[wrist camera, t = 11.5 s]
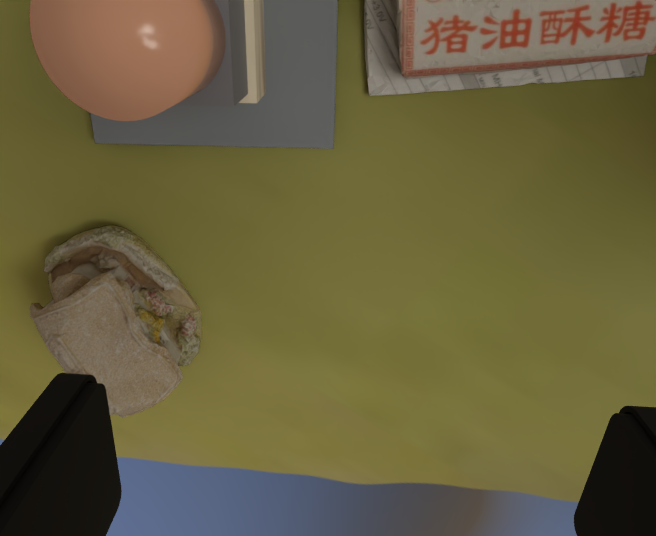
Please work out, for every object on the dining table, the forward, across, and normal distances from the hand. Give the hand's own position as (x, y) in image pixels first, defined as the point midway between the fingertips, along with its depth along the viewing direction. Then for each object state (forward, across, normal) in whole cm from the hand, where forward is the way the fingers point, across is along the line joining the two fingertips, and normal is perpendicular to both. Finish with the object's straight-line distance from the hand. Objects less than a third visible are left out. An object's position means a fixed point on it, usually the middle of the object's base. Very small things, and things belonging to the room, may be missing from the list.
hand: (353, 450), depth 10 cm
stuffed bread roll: (+29, +16, +14) cm, 36 cm away
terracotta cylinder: (+18, +8, -6) cm, 21 cm away
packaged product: (+30, -10, -9) cm, 33 cm away
